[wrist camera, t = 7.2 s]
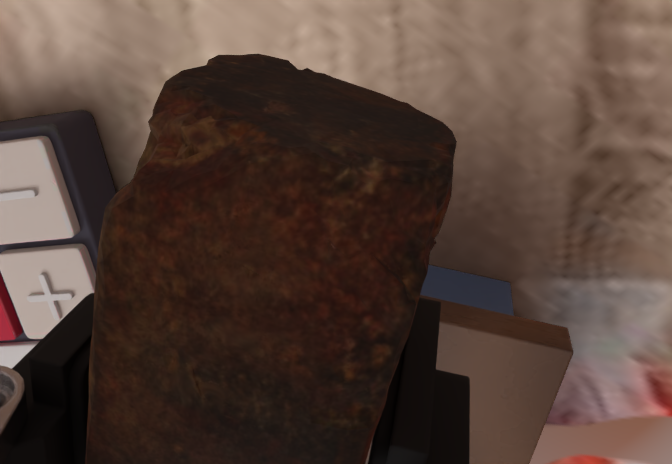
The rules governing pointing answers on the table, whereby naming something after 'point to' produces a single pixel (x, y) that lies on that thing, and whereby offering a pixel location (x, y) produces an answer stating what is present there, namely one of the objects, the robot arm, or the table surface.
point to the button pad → (48, 223)
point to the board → (503, 377)
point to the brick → (262, 269)
